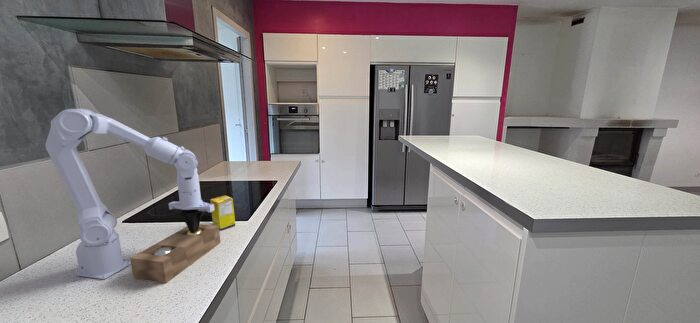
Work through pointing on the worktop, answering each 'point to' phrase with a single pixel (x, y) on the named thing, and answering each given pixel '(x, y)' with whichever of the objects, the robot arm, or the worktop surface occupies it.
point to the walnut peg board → (174, 254)
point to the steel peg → (162, 251)
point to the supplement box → (223, 212)
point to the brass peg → (194, 233)
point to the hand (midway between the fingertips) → (194, 231)
